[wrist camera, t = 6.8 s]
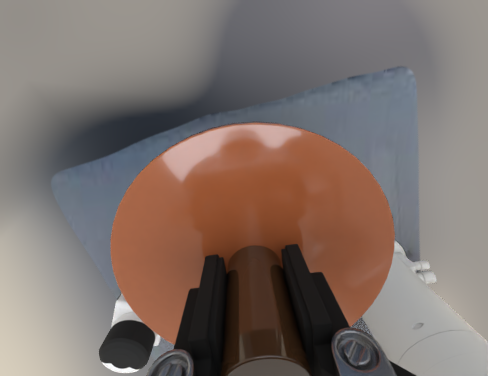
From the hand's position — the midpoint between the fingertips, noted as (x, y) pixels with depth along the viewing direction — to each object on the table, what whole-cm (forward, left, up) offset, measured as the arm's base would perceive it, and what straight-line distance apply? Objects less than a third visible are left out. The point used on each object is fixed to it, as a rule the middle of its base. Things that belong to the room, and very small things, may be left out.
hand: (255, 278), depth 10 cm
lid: (0, 0, -1) cm, 1 cm away
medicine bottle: (+18, +20, -23) cm, 36 cm away
